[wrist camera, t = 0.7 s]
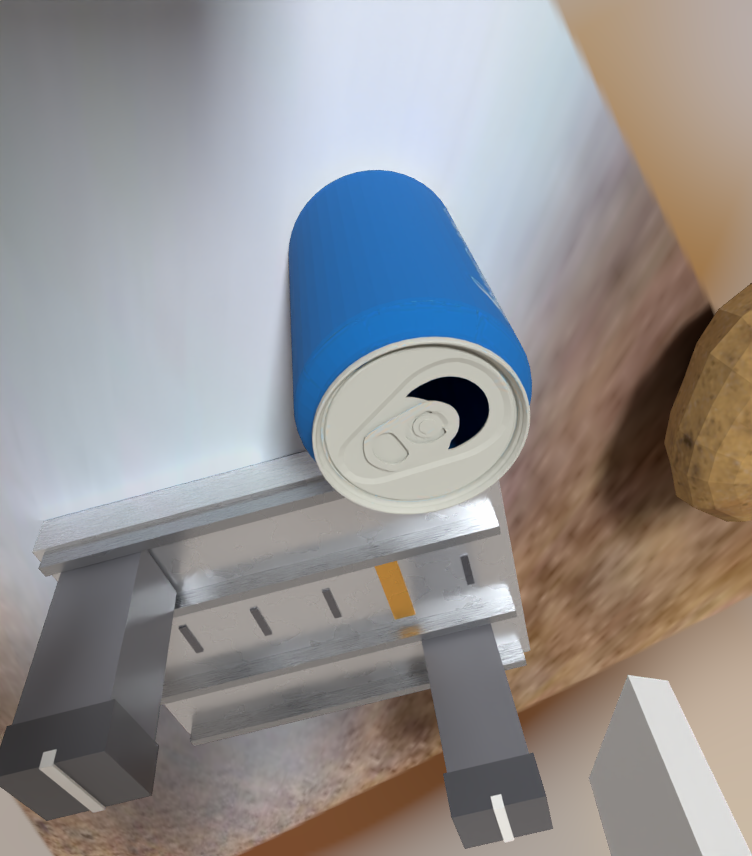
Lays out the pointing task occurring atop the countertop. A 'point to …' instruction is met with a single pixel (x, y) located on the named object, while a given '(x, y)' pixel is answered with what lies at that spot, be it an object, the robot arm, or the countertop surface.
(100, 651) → the fader near
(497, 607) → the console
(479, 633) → the fader far
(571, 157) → the countertop surface
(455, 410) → the beverage can
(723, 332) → the potato
